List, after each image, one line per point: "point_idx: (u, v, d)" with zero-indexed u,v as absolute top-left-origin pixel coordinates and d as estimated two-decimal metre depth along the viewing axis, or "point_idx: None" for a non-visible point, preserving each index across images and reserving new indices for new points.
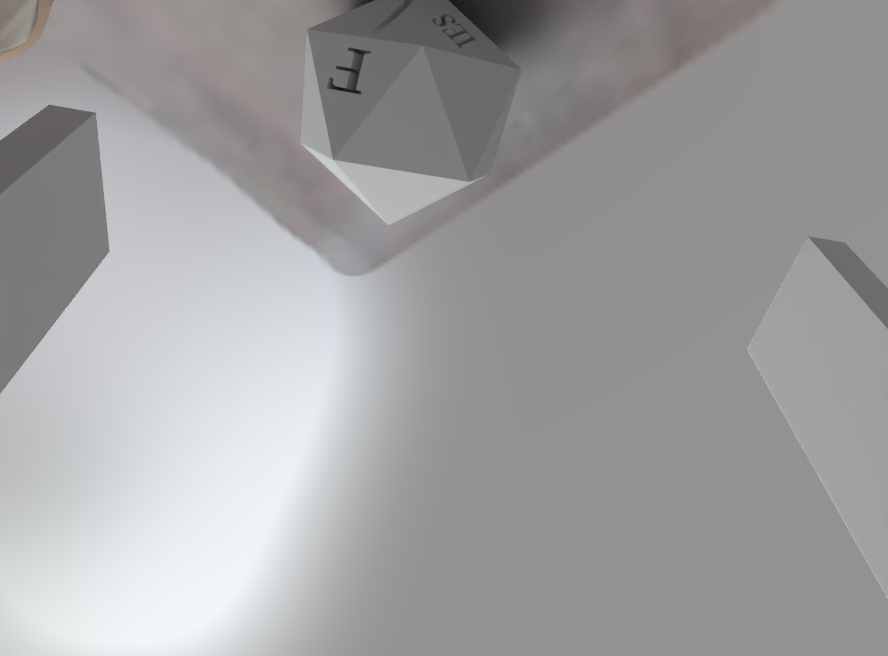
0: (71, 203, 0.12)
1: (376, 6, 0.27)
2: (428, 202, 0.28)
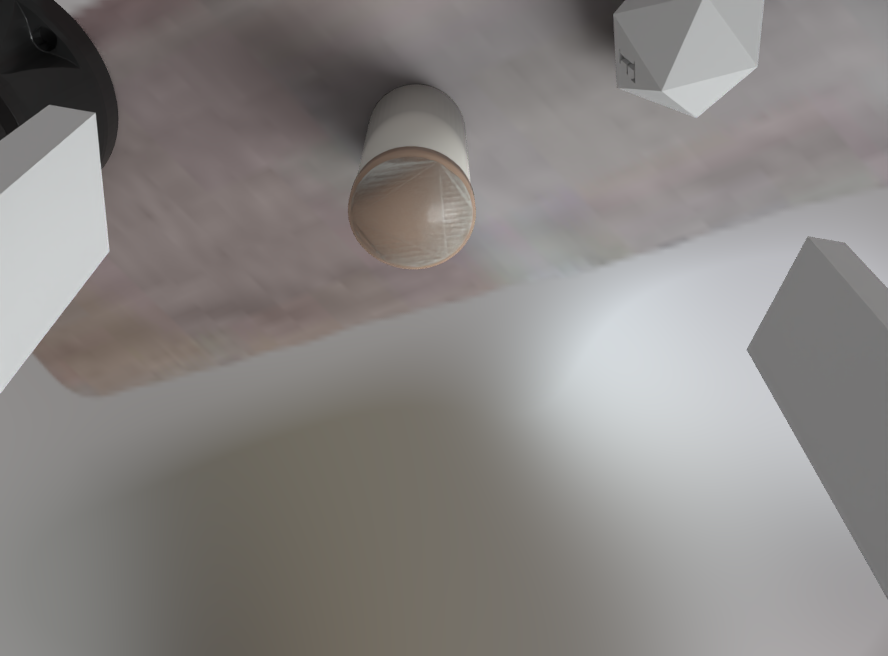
0: (71, 203, 0.12)
1: None
2: (728, 29, 0.37)
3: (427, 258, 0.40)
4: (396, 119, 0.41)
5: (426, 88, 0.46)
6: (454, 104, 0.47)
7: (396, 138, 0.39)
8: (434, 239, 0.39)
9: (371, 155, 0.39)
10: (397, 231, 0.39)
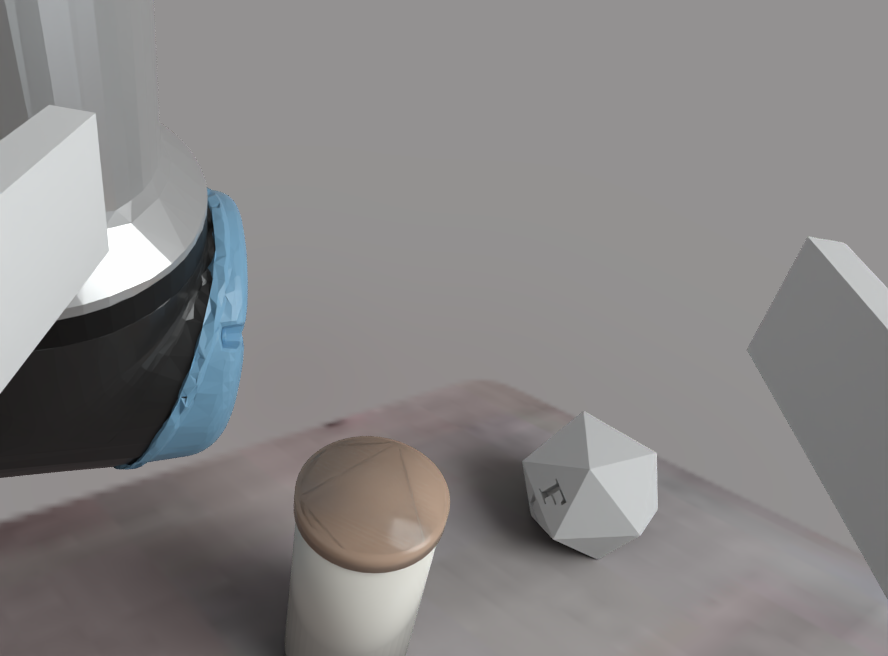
0: (71, 203, 0.12)
1: (538, 518, 0.45)
2: (615, 430, 0.45)
3: (398, 543, 0.30)
4: None
5: None
6: None
7: None
8: (404, 519, 0.31)
9: None
10: (356, 511, 0.30)
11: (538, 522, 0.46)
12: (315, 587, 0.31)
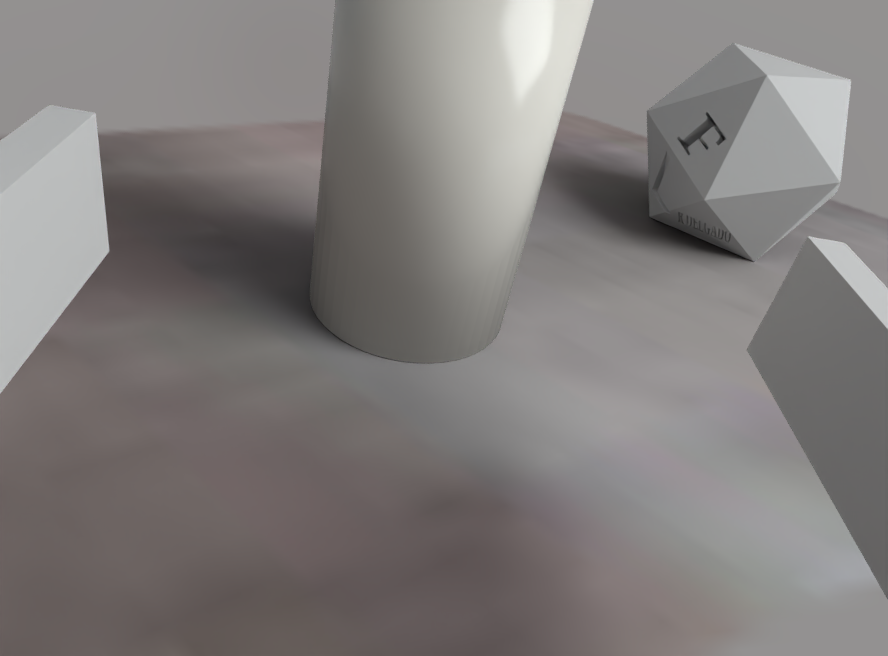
0: (71, 203, 0.12)
1: (669, 197, 0.31)
2: (784, 59, 0.31)
3: None
4: None
5: None
6: None
7: None
8: None
9: None
10: None
11: (668, 208, 0.32)
12: (377, 58, 0.17)
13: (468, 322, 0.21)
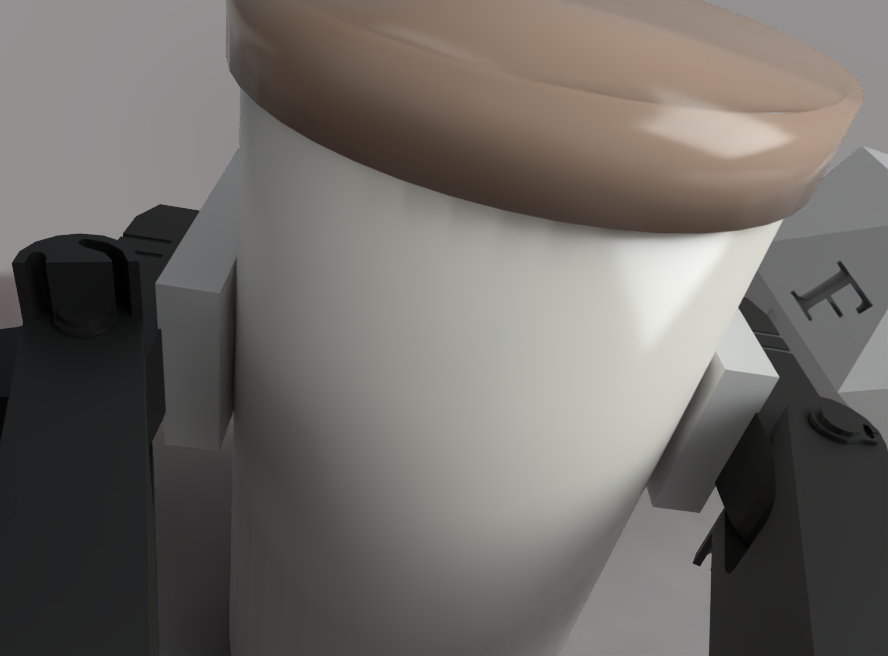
0: None
1: None
2: None
3: (724, 94, 0.06)
4: None
5: None
6: None
7: None
8: (702, 57, 0.07)
9: None
10: (496, 11, 0.07)
11: None
12: (312, 368, 0.08)
13: None
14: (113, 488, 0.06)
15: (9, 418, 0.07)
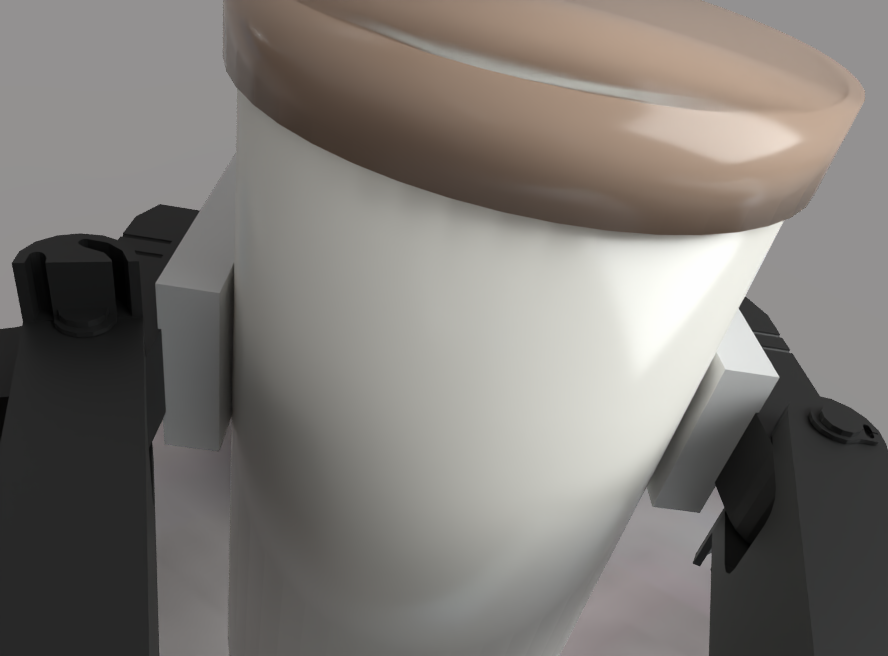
0: None
1: None
2: None
3: (724, 95, 0.06)
4: None
5: None
6: None
7: None
8: (702, 57, 0.07)
9: None
10: (496, 12, 0.07)
11: None
12: (310, 370, 0.08)
13: None
14: (113, 488, 0.06)
15: (8, 418, 0.07)
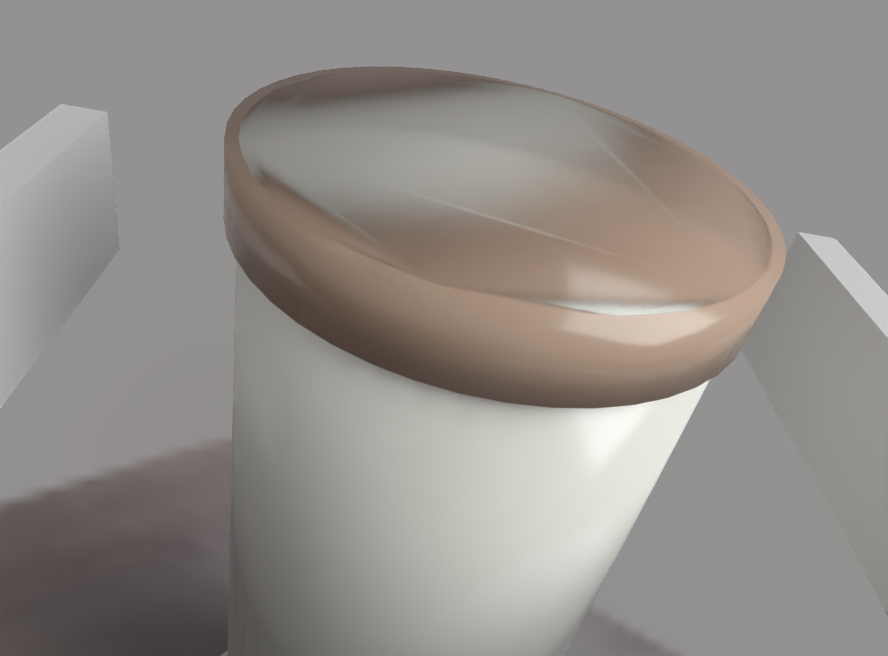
0: (83, 201, 0.12)
1: None
2: None
3: (652, 287, 0.07)
4: None
5: None
6: None
7: None
8: (643, 229, 0.08)
9: None
10: (461, 192, 0.08)
11: None
12: (299, 492, 0.09)
13: None
14: None
15: None
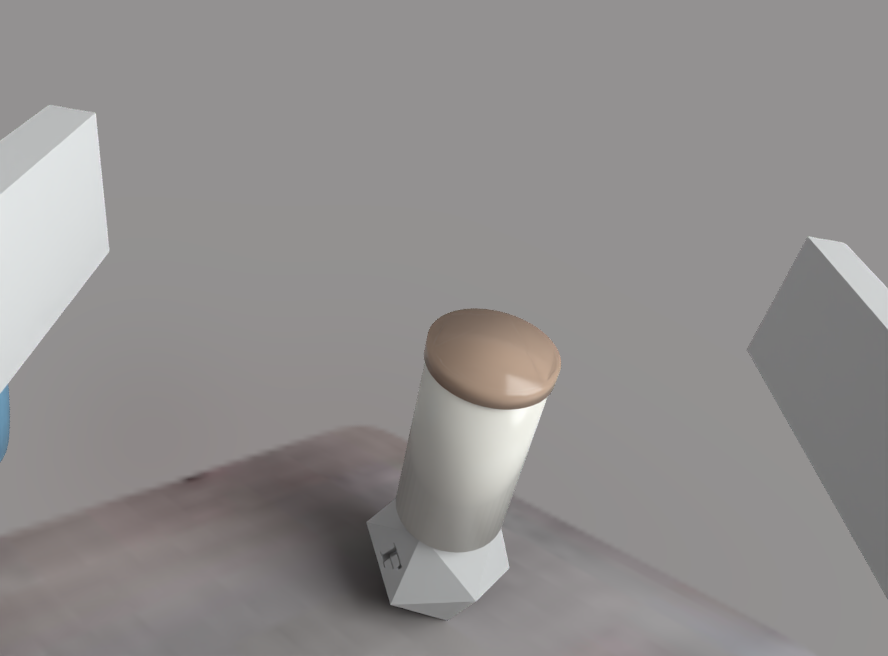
0: (71, 203, 0.12)
1: None
2: None
3: (522, 384, 0.34)
4: None
5: None
6: None
7: None
8: (524, 368, 0.35)
9: None
10: (482, 360, 0.35)
11: None
12: (443, 430, 0.35)
13: (484, 532, 0.40)
14: None
15: None
